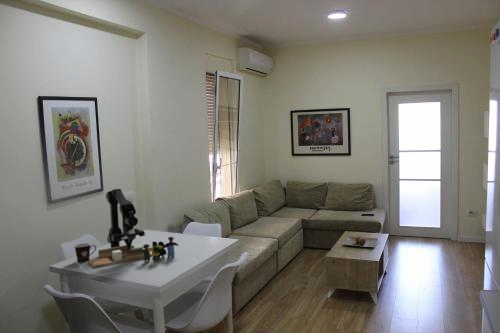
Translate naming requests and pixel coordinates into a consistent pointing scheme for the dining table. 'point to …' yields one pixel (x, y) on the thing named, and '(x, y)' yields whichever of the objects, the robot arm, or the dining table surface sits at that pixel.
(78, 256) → the coffee mug
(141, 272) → the dining table surface
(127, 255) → the puzzle board
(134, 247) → the sage cover
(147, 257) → the doll family
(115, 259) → the cream block
